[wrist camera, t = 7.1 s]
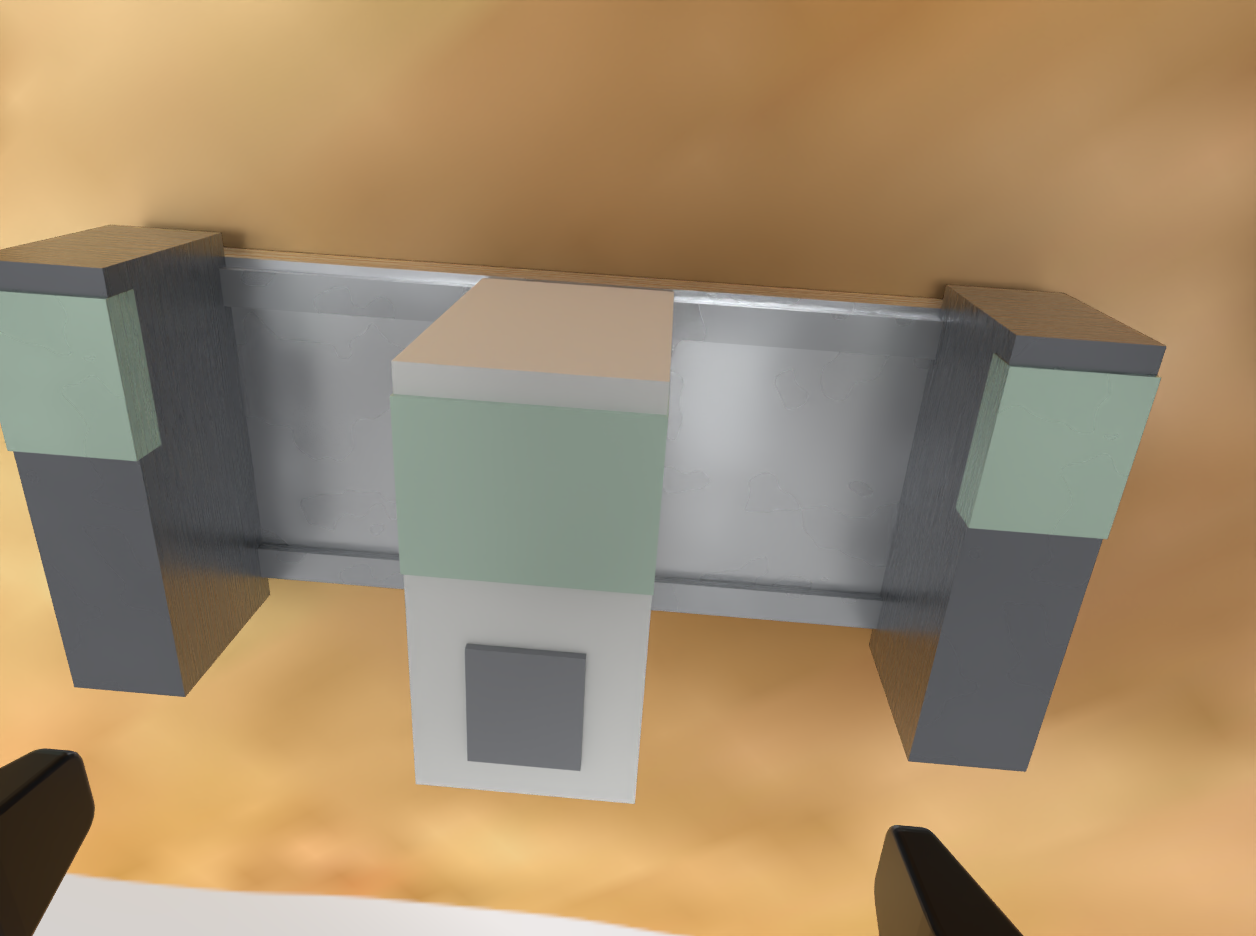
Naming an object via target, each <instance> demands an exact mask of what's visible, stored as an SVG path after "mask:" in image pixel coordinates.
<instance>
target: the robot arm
mask: <svg viewBox="0 0 1256 936" xmlns="http://www.w3.org/2000/svg"><path fill="white" fill-rule="evenodd" d="M94 811H95V805H94V800H93V796H92V792H91V789H90V785H89V781H88V778H87V774H86V770H85V766H84V763H83V760H82V758H81V757H80V755H79V754H78V753H77V752H74V751H68V750H57V749H38V750H35V751H32V752H30V753H28V754H26V755H24V756H22V757H20V758H19V759H17V760H15V761H13V762H11V763H9V764H7V765H5V766H3V767H1V768H0V936H32V935H33V934H34V932H35V930H36V928H37V926H38V924H39V923H40V921H41V919H42V917H43V915H44V913H45V911H46V909H47V908H48V906H49V904H50V902H51V900H52V898H53V896H54V895H55V893H56V891H57V889H58V887H59V885H60V883H61V882H62V880H63V878H64V876H65V874H66V872H67V870H68V869H69V867H70V865H71V863H72V861H73V859H74V857H75V855H76V854H77V852H78V850H79V848H80V846H81V844H82V842H83V841H84V839H85V837H86V835H87V833H88V831H89V829H90V827H91V824H92V821H93V818H94ZM874 895H875V906H876V914H877V922H878V930H879V936H1023V935H1022V934H1021V932H1020V931H1019V930H1018V929H1017V928H1016V927H1015V926H1014V924H1013V923H1012V922H1011V921H1010V920H1009V919H1008V918H1007V916H1006V915H1005V914H1004V913H1003V912H1002V911H1001V910H1000V908H999V907H998V906H997V905H996V904H995V903H994V902H993V901H992V899H991V898H990V897H989V896H988V895H987V894H986V893H985V891H984V890H983V889H982V888H981V887H980V886H979V885H978V883H977V882H976V881H975V880H974V879H973V878H972V877H971V875H970V874H969V873H968V872H967V871H966V870H965V869H964V868H963V866H962V865H961V864H960V863H959V862H958V861H957V860H956V858H955V857H954V856H953V855H952V854H951V853H950V852H949V850H948V849H947V848H946V847H945V846H944V845H943V844H942V842H941V841H940V840H939V839H938V838H937V837H936V836H935V835H934V834H933V833H932V832H931V831H930V830H928V829H926V828H923V827H912V826H901V825H894V826H891V827H890V828H889V830H888V831H887V833H886V837H885V841H884V845H883V849H882V853H881V857H880V861H879V865H878V869H877V873H876V877H875V886H874Z"/></svg>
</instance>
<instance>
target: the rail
mask: <svg viewBox="0 0 1256 936" xmlns="http://www.w3.org/2000/svg"><path fill="white" fill-rule="evenodd" d="M482 278H490V279H504V280H518V281H531V282H545V283H559V284H573V285H587V286H601V287H615V288H629V289H643V290H657V291H670V292H674V303H673V324H672V345H671V366H670V385H669V391H670V392H669V413H668V427H667V439H666V451H665V463H664V475H663V487H662V498H661V510H660V522H659V534H658V546H657V558H656V570H655V582H654V594H653V595H652V602H651V610H657V611H669V612H681V613H693V614H705V615H717V616H728V617H740V618H752V619H764V620H776V621H788V622H800V623H812V624H823V625H835V626H847V627H859V628H871V629H872V634H871V639H870V643H869V647H870V650H871V653H872V655H873V658H874V661H875V664H876V667H877V670H878V673H879V676H880V679H881V682H882V685H883V688H884V691H885V694H886V697H887V700H888V703H889V706H890V709H891V712H892V715H893V718H894V721H895V724H896V727H897V729H898V732H899V735H900V738H901V741H902V744H903V747H904V750H905V753H906V756H907V759H908V761H912V762H923V763H934V764H945V765H957V766H968V767H979V768H990V769H1002V770H1013V771H1024V772H1026V770H1027V767H1028V764H1029V761H1030V758H1031V755H1032V752H1033V749H1034V746H1035V743H1036V740H1037V737H1038V734H1039V731H1040V728H1041V725H1042V722H1043V718H1044V715H1045V712H1046V709H1047V706H1048V703H1049V700H1050V697H1051V694H1052V691H1053V688H1054V685H1055V682H1056V679H1057V676H1058V673H1059V670H1060V667H1061V664H1062V661H1063V658H1064V655H1065V652H1066V649H1067V646H1068V643H1069V640H1070V637H1071V634H1072V631H1073V628H1074V625H1075V622H1076V619H1077V616H1078V613H1079V610H1080V607H1081V604H1082V601H1083V598H1084V594H1085V591H1086V588H1087V585H1088V582H1089V579H1090V576H1091V573H1092V570H1093V567H1094V564H1095V561H1096V558H1097V555H1098V552H1099V549H1100V546H1101V543H1102V540H1103V539H1108V536H1109V533H1110V530H1111V527H1112V524H1113V521H1114V518H1115V515H1116V512H1117V509H1118V506H1119V503H1120V500H1121V497H1122V494H1123V491H1124V488H1125V485H1126V482H1127V479H1128V476H1129V473H1130V470H1131V467H1132V464H1133V461H1134V458H1135V455H1136V452H1137V449H1138V446H1139V443H1140V440H1141V437H1142V434H1143V431H1144V428H1145V425H1146V422H1147V419H1148V416H1149V413H1150V410H1151V407H1152V404H1153V401H1154V398H1155V395H1156V392H1157V389H1158V386H1159V383H1160V380H1161V377H1159V376H1157V374H1158V371H1159V368H1160V365H1161V362H1162V359H1163V356H1164V353H1165V350H1166V346H1165V345H1163V344H1161V343H1159V342H1158V341H1156V340H1154V339H1152V338H1150V337H1148V336H1146V335H1144V334H1142V333H1140V332H1138V331H1136V330H1134V329H1132V328H1131V327H1129V326H1127V325H1125V324H1123V323H1121V322H1119V321H1117V320H1115V319H1113V318H1111V317H1109V316H1107V315H1106V314H1104V313H1102V312H1100V311H1098V310H1096V309H1094V308H1092V307H1090V306H1088V305H1086V304H1084V303H1082V302H1080V301H1079V300H1077V299H1075V298H1073V297H1071V296H1069V295H1067V294H1065V293H1056V292H1042V291H1028V290H1014V289H1000V288H986V287H972V286H958V285H946V288H945V293H944V297H943V299H934V298H921V297H907V296H893V295H879V294H865V293H851V292H837V291H823V290H810V289H796V288H782V287H768V286H754V285H740V284H726V283H713V282H699V281H685V280H671V279H657V278H643V277H629V276H615V275H602V274H588V273H574V272H560V271H546V270H532V269H518V268H505V267H491V266H477V265H463V264H449V263H435V262H421V261H407V260H394V259H380V258H366V257H352V256H338V255H324V254H310V253H297V252H283V251H269V250H255V249H241V248H227V247H223V240H222V233H218V232H204V231H190V230H176V229H162V228H148V227H134V226H120V225H107V226H103V227H98V228H94V229H90V230H85V231H81V232H76V233H72V234H68V235H63V236H59V237H54V238H50V239H45V240H41V241H37V242H32V243H28V244H23V245H19V246H14V247H10V248H6V249H1V250H0V423H1V427H2V431H3V435H4V439H5V442H6V446H7V450H8V451H13V452H14V456H15V460H16V463H17V467H18V471H19V475H20V479H21V483H22V487H23V490H24V494H25V498H26V502H27V506H28V510H29V514H30V517H31V521H32V525H33V529H34V533H35V537H36V541H37V544H38V548H39V552H40V556H41V560H42V564H43V567H44V571H45V575H46V579H47V583H48V587H49V591H50V594H51V598H52V602H53V606H54V610H55V614H56V618H57V621H58V625H59V629H60V633H61V637H62V641H63V645H64V648H65V652H66V656H67V660H68V664H69V668H70V672H71V675H72V679H73V683H74V687H79V688H91V689H102V690H113V691H124V692H136V693H147V694H158V695H169V696H180V697H186V695H187V694H188V693H189V692H190V691H191V689H192V688H193V687H194V686H195V685H196V683H197V682H198V681H199V680H200V678H201V677H202V676H203V675H204V674H205V672H206V671H207V670H208V669H209V668H210V666H211V665H212V664H213V663H214V662H215V660H216V659H217V658H218V657H219V656H220V654H221V653H222V652H223V651H224V650H225V648H226V647H227V646H228V645H229V643H230V642H231V641H232V640H233V639H234V637H235V636H236V635H237V634H238V633H239V631H240V630H241V629H242V628H243V627H244V625H245V624H246V623H247V622H248V621H249V619H250V618H251V617H252V616H253V614H254V613H255V612H256V611H257V610H258V608H259V607H260V606H261V605H262V604H263V602H264V601H265V600H266V599H267V598H268V596H269V595H270V591H269V583H268V578H277V579H289V580H301V581H313V582H325V583H337V584H349V585H360V586H372V587H384V588H396V589H404V575H402V574H400V560H399V544H398V527H397V510H396V493H395V477H394V460H393V443H392V427H391V410H390V395H391V394H392V393H393V382H392V364H391V361H392V360H393V359H394V358H395V357H396V356H397V355H398V354H400V353H401V352H402V351H403V350H404V349H405V348H406V347H407V346H408V345H409V344H410V343H412V342H413V341H414V340H415V339H416V338H417V337H418V336H419V335H420V334H421V333H423V332H424V331H425V330H426V329H427V328H428V327H429V326H430V325H431V324H432V323H434V322H435V321H436V320H437V319H438V318H439V317H440V316H441V315H442V314H443V313H445V312H446V311H447V310H448V309H449V308H450V307H451V306H452V305H453V304H454V303H456V302H457V301H458V300H459V299H460V298H461V297H462V296H463V295H464V294H465V293H467V292H468V291H469V290H470V289H471V288H472V287H473V286H474V285H475V284H476V283H478V282H479V281H480V280H481V279H482Z"/></svg>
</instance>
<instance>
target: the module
mask: <svg viewBox="0 0 1256 936" xmlns="http://www.w3.org/2000/svg"><path fill="white" fill-rule="evenodd" d="M673 303H674V292H670V291H657V290H643V289H629V288H615V287H601V286H587V285H573V284H559V283H545V282H531V281H518V280H504V279H490V278H482V279H481V280H480V281H479V282H478V283H476V284H475V285H474V286H473V287H472V288H471V289H470V290H469V291H468V292H467V293H465V294H464V295H463V296H462V297H461V298H460V299H459V300H458V301H457V302H456V303H454V304H453V305H452V306H451V307H450V308H449V309H448V310H447V311H446V312H445V313H443V314H442V315H441V316H440V317H439V318H438V319H437V320H436V321H435V322H434V323H432V324H431V325H430V326H429V327H428V328H427V329H426V330H425V331H424V332H423V333H421V334H420V335H419V336H418V337H417V338H416V339H415V340H414V341H413V342H412V343H410V344H409V345H408V346H407V347H406V348H405V349H404V350H403V351H402V352H401V353H400V354H398V355H397V356H396V357H395V358H394V359H393V360H392V361H391V364H392V382H393V393H392V394H391V395H390V410H391V427H392V443H393V460H394V477H395V493H396V510H397V527H398V544H399V560H400V574H402V575H404V589H405V606H406V623H407V640H408V658H409V675H410V692H411V710H412V727H413V744H414V761H415V779H416V784H422V785H433V786H444V787H455V788H466V789H477V790H488V791H499V792H510V793H521V794H532V795H543V796H554V797H565V798H576V799H587V800H598V801H609V802H620V803H631V804H635V794H636V782H637V770H638V758H639V746H640V734H641V722H642V710H643V698H644V686H645V674H646V662H647V650H648V638H649V626H650V614H651V602H652V595H653V594H654V582H655V570H656V558H657V546H658V534H659V522H660V510H661V498H662V487H663V475H664V463H665V451H666V439H667V427H668V413H669V392H670V391H669V385H670V366H671V345H672V324H673Z"/></svg>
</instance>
